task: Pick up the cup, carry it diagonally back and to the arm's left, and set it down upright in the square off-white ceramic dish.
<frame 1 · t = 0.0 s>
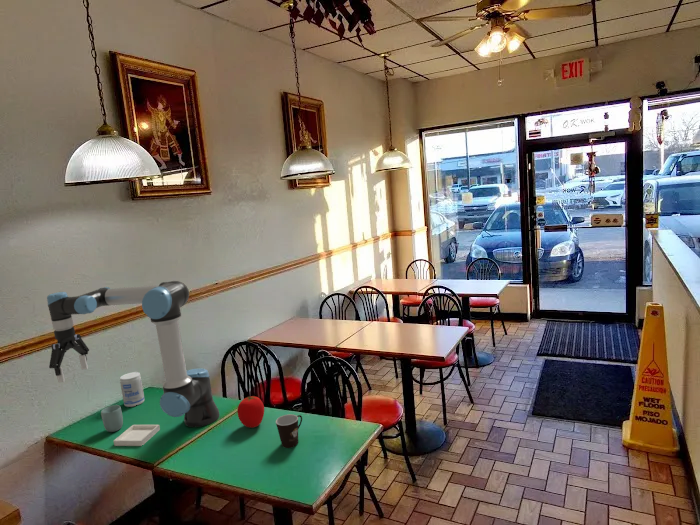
hand: (73, 375, 208), 28 cm above the table, fingers open, 13 cm apart
coffee mug: (293, 442, 188), on the table
supplement tub: (134, 403, 241), on the table
cup: (115, 430, 215), on the table
dish: (137, 437, 205), on the table
tomato: (253, 426, 204), on the table
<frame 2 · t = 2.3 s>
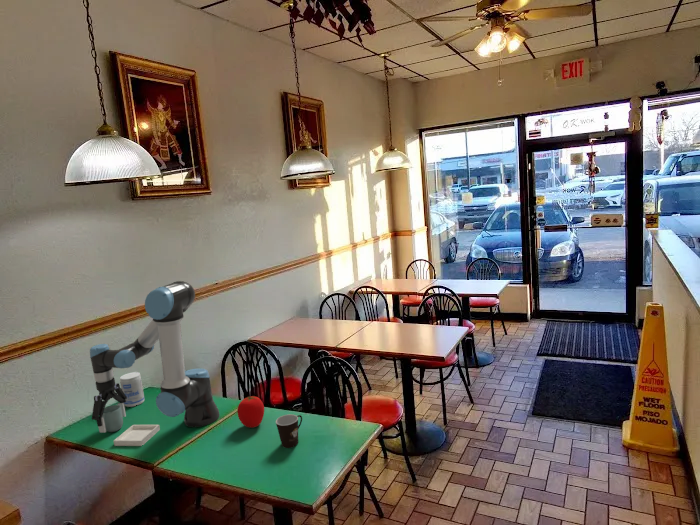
hand: (113, 424, 214), 3 cm above the table, fingers open, 13 cm apart
nothing on the table moved.
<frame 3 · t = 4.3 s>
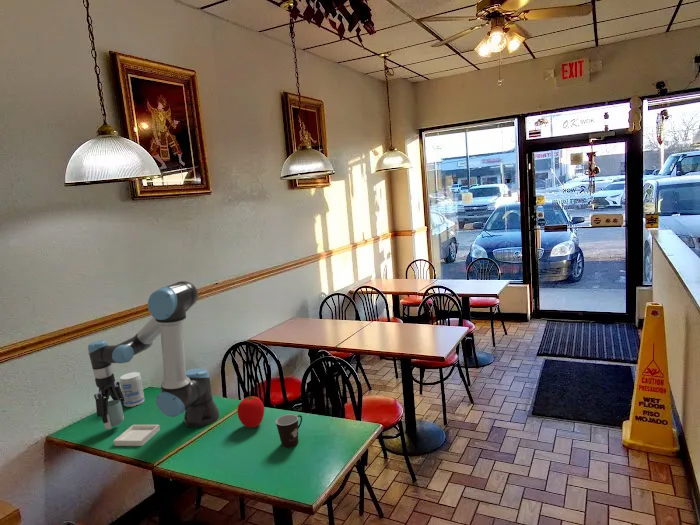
hand: (114, 423, 214), 3 cm above the table, fingers closed on cup, 8 cm apart
cup: (115, 424, 214), point 2 cm above the table, touching gripper
everything else where it was.
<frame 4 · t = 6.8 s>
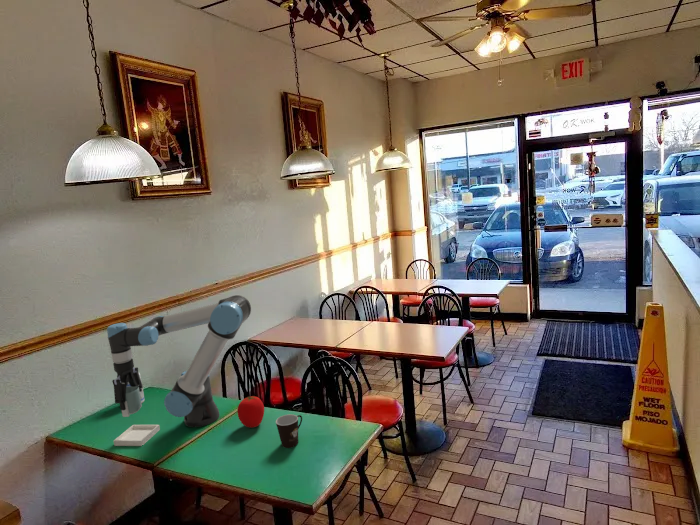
hand: (132, 411, 203), 12 cm above the table, fingers closed on cup, 8 cm apart
cup: (133, 412, 203), point 12 cm above the table, touching gripper
everything else where it was.
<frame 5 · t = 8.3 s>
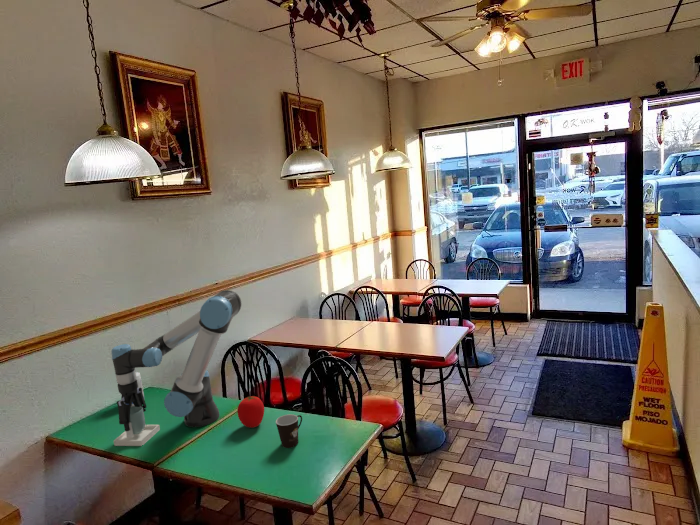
hand: (136, 431, 205), 3 cm above the table, fingers closed on cup, 8 cm apart
cup: (137, 432, 205), point 2 cm above the table, touching gripper
everything else where it was.
when the fingers open (2 cm above the table, at t = 9.2 s): cup drops 1 cm, resting on dish.
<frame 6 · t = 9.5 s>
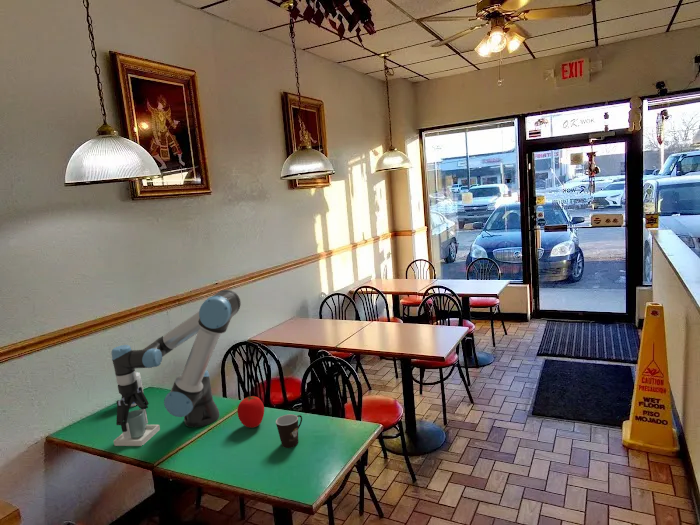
hand: (136, 430, 204), 3 cm above the table, fingers open, 11 cm apart
cup: (137, 436, 205), point 1 cm above the table, touching dish
everything else where it was.
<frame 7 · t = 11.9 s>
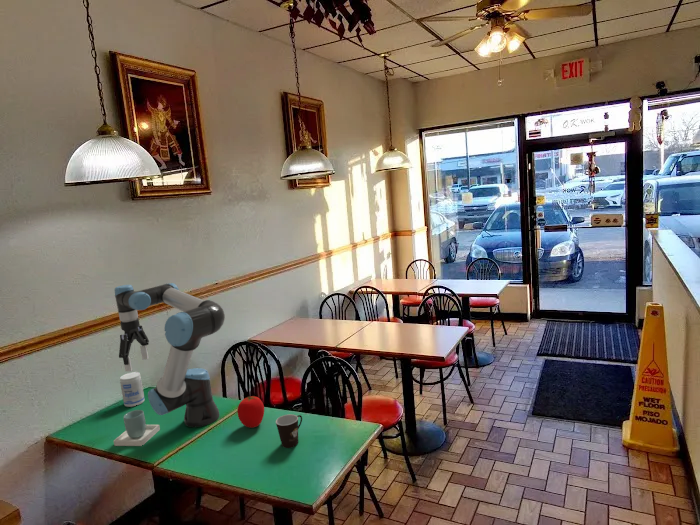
hand: (137, 365, 216), 27 cm above the table, fingers open, 13 cm apart
nothing on the table moved.
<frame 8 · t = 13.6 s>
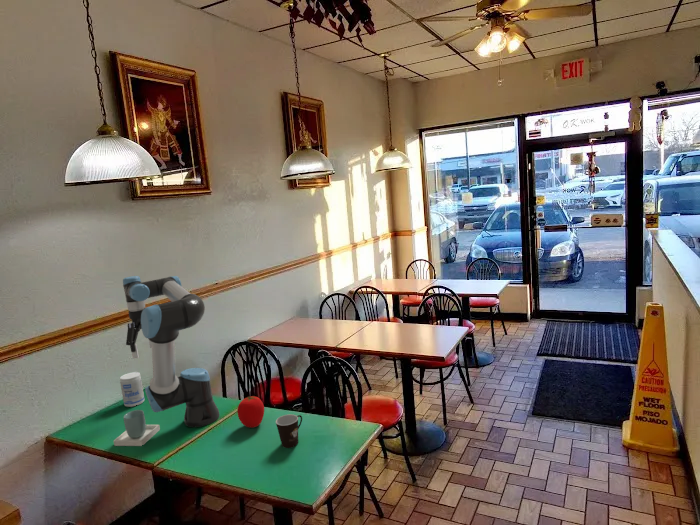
hand: (144, 352, 227), 29 cm above the table, fingers open, 13 cm apart
nothing on the table moved.
at the end: cup inside the target area on the dish (0.2 cm from its centre), point 0.6 cm above the dish's base; cup tilted 0°; the gripper is holding nothing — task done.
